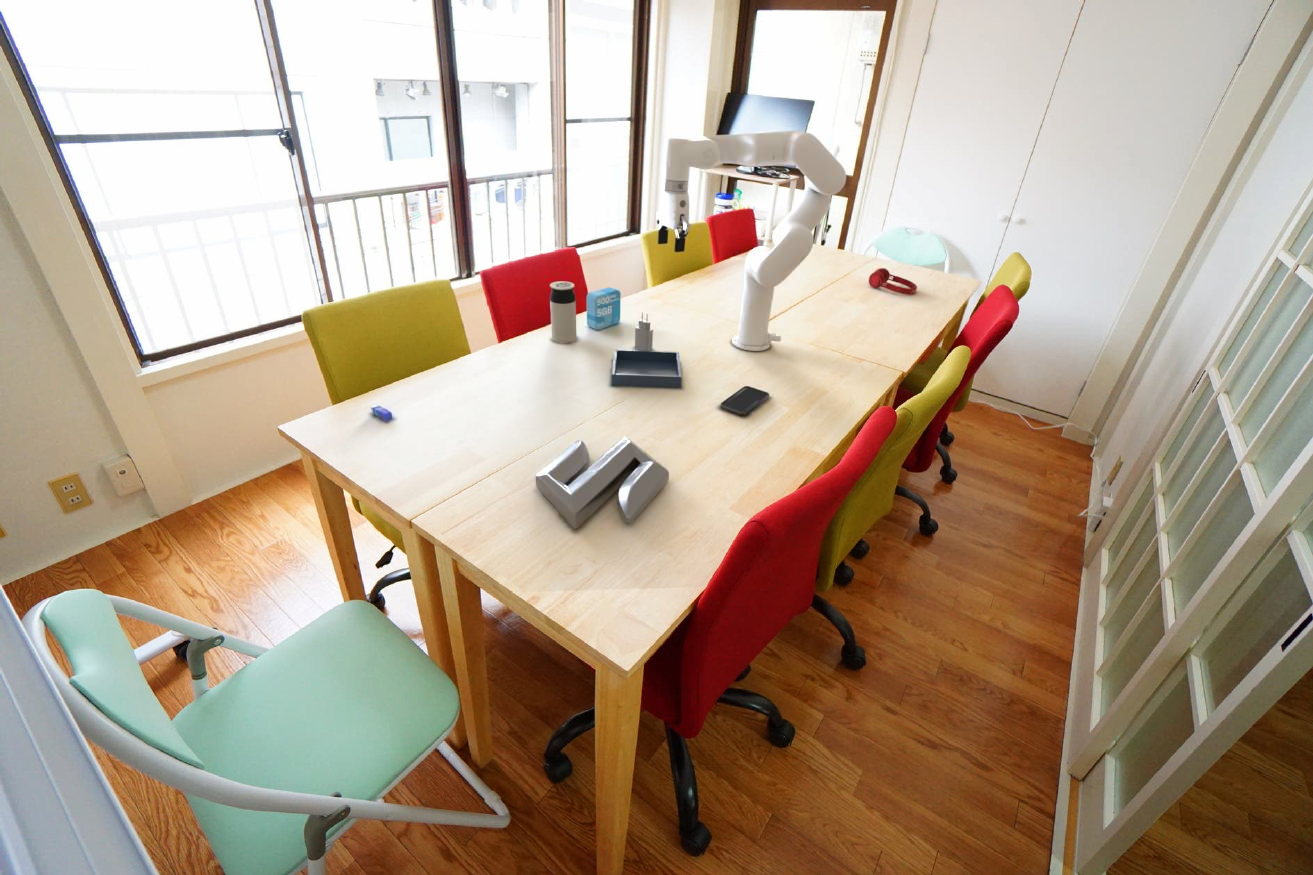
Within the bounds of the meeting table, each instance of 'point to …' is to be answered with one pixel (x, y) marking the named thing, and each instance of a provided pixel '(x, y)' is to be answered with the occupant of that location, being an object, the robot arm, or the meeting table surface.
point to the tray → (646, 369)
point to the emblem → (601, 481)
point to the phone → (744, 401)
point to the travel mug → (563, 312)
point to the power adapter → (643, 335)
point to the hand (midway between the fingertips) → (670, 247)
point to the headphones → (883, 276)
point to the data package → (603, 308)
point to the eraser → (381, 412)
